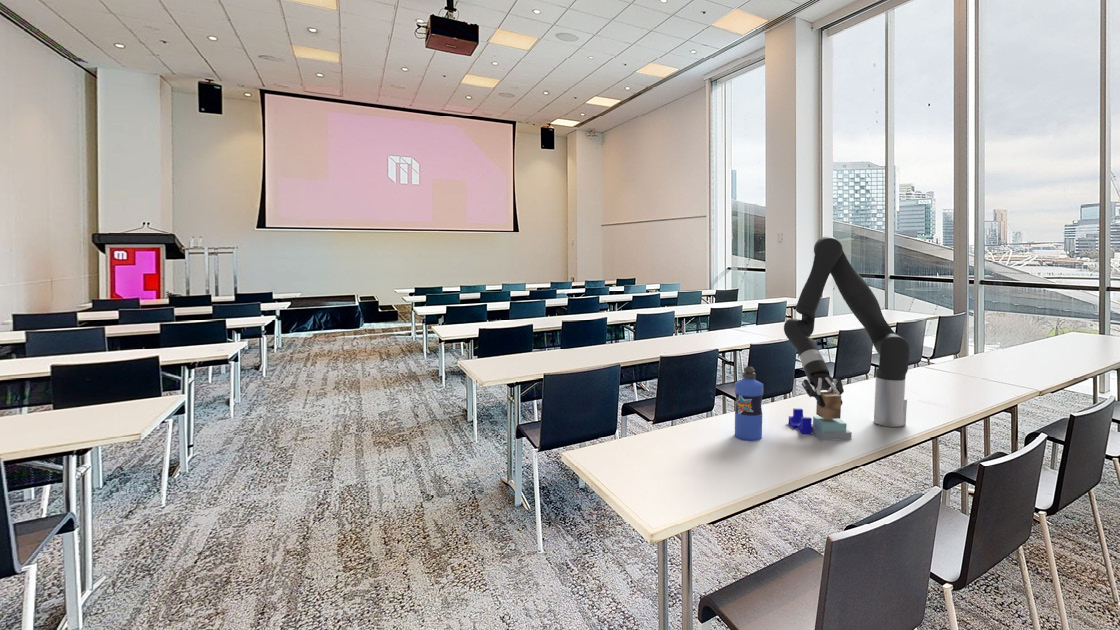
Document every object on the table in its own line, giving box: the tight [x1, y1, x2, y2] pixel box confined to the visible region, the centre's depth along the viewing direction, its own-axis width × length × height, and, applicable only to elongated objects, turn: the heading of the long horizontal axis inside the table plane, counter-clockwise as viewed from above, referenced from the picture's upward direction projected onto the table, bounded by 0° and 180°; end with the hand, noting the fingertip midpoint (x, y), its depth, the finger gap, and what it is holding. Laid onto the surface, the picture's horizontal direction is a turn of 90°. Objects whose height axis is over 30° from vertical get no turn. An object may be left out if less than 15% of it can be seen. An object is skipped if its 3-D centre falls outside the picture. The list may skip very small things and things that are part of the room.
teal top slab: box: [812, 415, 847, 432], centre depth 185 cm, size 8×8×3 cm
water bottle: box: [734, 365, 764, 442], centre depth 184 cm, size 9×9×25 cm
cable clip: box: [788, 407, 813, 436], centre depth 192 cm, size 12×4×6 cm, turn 171°
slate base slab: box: [811, 423, 853, 441], centre depth 186 cm, size 10×10×3 cm
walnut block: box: [815, 391, 842, 419], centre depth 185 cm, size 6×6×8 cm
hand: (831, 405), depth 183 cm, fingers closed on walnut block, 5 cm apart
